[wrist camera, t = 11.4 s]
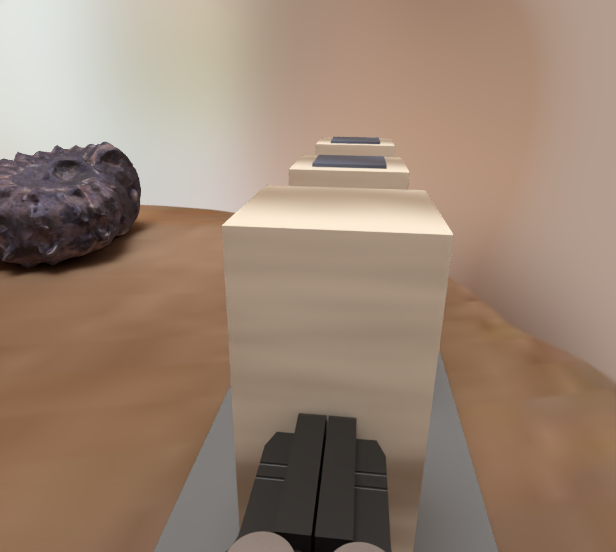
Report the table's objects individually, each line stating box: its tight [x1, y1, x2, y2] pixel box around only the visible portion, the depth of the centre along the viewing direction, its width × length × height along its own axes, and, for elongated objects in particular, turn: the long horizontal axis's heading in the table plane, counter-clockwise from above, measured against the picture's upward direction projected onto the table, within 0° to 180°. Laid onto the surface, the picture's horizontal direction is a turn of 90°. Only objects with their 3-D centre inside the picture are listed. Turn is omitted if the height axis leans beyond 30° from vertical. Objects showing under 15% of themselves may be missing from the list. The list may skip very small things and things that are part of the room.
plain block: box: [222, 185, 454, 552], centre depth 15 cm, size 5×5×12 cm
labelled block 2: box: [289, 155, 409, 190], centre depth 24 cm, size 5×5×12 cm
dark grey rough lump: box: [0, 142, 141, 268], centre depth 49 cm, size 20×13×15 cm
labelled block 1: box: [315, 137, 395, 157], centre depth 34 cm, size 5×5×12 cm
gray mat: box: [154, 351, 498, 552], centre depth 26 cm, size 31×12×1 cm, turn 173°
